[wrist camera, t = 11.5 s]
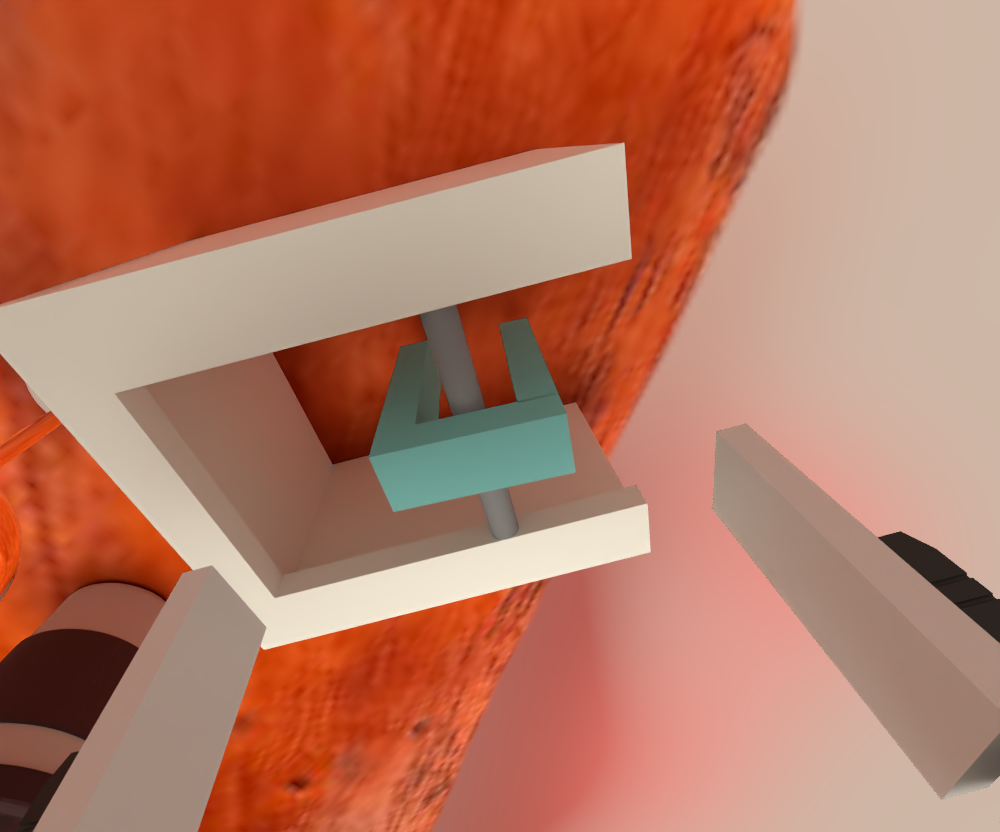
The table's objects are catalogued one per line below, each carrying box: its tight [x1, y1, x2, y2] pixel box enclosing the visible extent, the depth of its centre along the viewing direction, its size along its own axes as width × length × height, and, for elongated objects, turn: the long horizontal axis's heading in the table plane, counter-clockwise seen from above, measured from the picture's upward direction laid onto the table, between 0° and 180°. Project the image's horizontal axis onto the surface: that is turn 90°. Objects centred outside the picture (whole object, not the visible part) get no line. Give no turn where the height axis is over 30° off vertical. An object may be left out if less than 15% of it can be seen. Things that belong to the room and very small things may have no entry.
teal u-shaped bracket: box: [369, 317, 576, 512], centre depth 18 cm, size 2×6×9 cm, turn 102°
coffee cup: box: [0, 583, 166, 832], centre depth 28 cm, size 10×10×15 cm
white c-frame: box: [0, 143, 650, 650], centre depth 21 cm, size 16×18×12 cm
